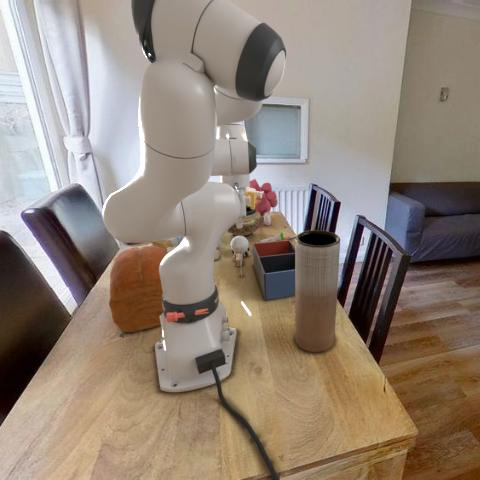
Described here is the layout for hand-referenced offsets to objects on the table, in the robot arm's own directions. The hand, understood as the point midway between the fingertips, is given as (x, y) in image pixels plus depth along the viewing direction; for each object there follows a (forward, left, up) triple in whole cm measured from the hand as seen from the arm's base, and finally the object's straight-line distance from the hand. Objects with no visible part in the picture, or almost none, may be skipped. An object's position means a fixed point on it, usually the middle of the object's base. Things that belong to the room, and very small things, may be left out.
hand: (237, 222), depth 100 cm
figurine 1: (+37, +20, -20) cm, 46 cm away
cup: (+19, -9, -18) cm, 27 cm away
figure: (+40, -5, -5) cm, 41 cm away
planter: (-38, -14, -20) cm, 45 cm away
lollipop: (0, 0, -20) cm, 20 cm away
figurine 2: (+28, +8, -15) cm, 32 cm away
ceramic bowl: (+39, -4, -20) cm, 44 cm away
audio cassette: (+42, +38, -19) cm, 59 cm away
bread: (-9, +27, -20) cm, 35 cm away
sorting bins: (-5, -12, -20) cm, 24 cm away
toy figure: (+15, -2, -20) cm, 25 cm away
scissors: (+29, -23, -20) cm, 42 cm away
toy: (+58, -10, -12) cm, 60 cm away
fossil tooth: (+17, +14, -20) cm, 30 cm away
